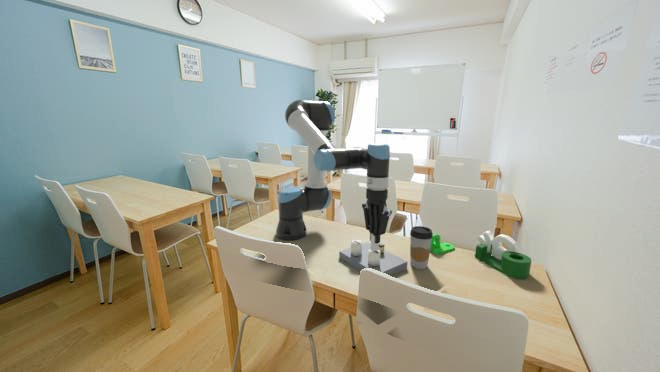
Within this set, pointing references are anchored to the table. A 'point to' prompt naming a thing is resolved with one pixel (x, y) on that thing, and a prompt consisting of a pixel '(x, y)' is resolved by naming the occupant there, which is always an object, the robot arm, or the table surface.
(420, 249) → the coffee cup
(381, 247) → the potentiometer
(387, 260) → the plate
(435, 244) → the mechanical part
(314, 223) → the table surface
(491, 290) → the table surface
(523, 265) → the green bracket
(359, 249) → the knob
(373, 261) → the knob
